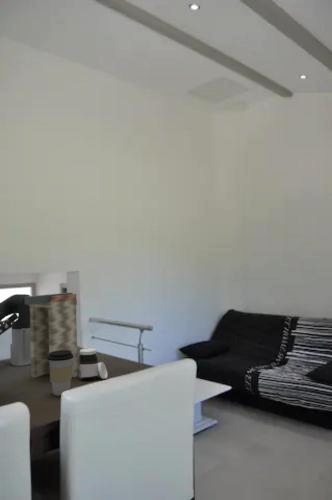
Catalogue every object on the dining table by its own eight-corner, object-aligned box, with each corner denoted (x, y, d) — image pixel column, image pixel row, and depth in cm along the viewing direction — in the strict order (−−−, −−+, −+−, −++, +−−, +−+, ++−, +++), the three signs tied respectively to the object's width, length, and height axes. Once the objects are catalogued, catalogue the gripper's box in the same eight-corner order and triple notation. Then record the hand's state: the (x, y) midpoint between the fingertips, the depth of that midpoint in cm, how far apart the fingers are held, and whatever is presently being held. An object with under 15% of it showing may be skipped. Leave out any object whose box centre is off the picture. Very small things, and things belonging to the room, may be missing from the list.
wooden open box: (52, 383, 171) (50, 296, 171) (30, 376, 181) (28, 295, 182) (78, 375, 180) (76, 294, 181) (56, 370, 191) (54, 293, 192)
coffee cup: (79, 390, 160) (78, 350, 160) (65, 398, 151) (64, 355, 151) (57, 388, 163) (56, 349, 163) (42, 396, 154) (41, 354, 155)
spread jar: (77, 376, 180) (76, 348, 180) (103, 373, 184) (103, 345, 184) (82, 383, 169) (81, 354, 169) (110, 380, 173) (109, 351, 173)
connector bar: (28, 304, 166) (28, 297, 167) (24, 304, 168) (24, 296, 168) (72, 299, 182) (72, 292, 182) (68, 299, 184) (68, 292, 184)
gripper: (-22, 335, 145) (16, 307, 156) (-41, 331, 155) (-4, 305, 165) (-11, 352, 148) (25, 324, 159) (-30, 347, 157) (5, 320, 168)
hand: (10, 314), depth 162 cm, fingers open, 8 cm apart
